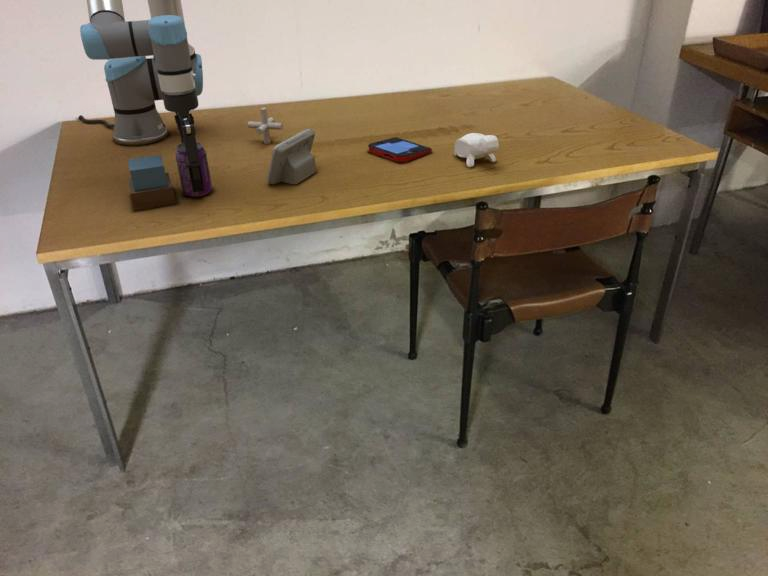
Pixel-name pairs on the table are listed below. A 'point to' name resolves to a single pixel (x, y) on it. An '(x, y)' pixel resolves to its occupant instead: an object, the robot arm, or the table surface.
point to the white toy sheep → (476, 147)
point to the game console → (398, 149)
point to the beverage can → (185, 175)
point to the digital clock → (292, 159)
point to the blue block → (147, 172)
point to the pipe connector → (265, 125)
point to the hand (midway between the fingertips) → (196, 184)
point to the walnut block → (152, 196)
